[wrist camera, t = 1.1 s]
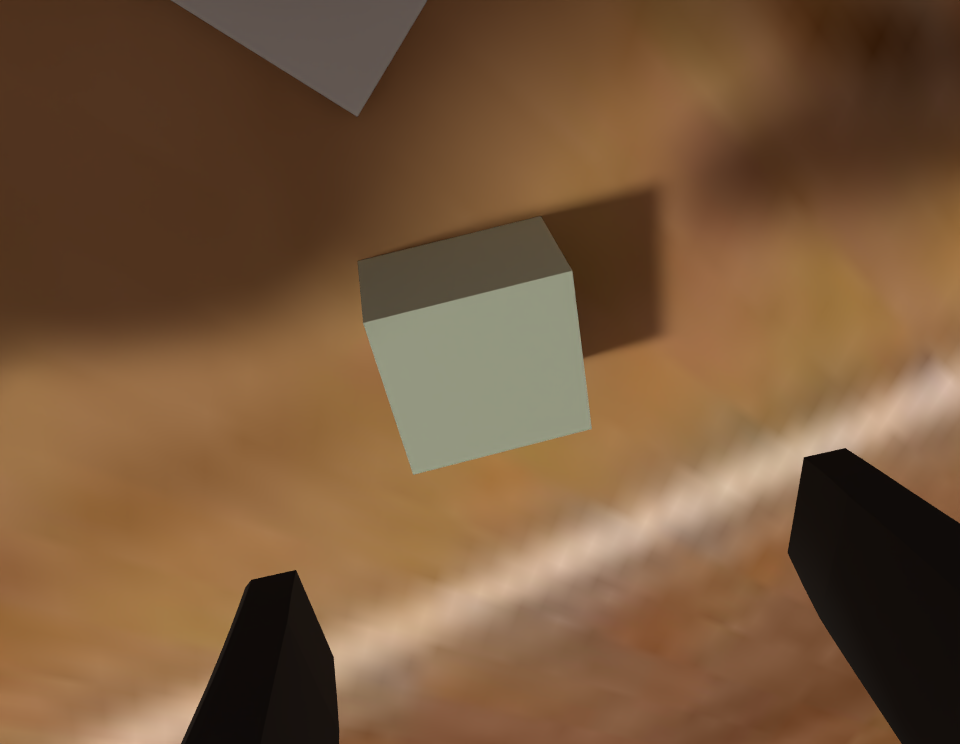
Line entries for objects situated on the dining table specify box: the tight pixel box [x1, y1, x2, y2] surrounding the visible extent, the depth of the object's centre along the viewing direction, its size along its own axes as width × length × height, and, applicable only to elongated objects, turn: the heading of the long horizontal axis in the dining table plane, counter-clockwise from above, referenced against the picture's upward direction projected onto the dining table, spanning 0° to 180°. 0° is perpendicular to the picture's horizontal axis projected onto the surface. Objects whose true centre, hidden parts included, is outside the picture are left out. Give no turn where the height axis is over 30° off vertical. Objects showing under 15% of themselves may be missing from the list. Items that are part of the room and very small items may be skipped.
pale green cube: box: [358, 216, 592, 475], centre depth 18 cm, size 4×4×3 cm
